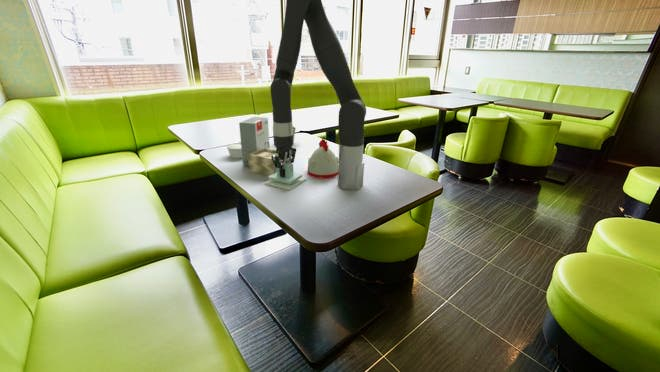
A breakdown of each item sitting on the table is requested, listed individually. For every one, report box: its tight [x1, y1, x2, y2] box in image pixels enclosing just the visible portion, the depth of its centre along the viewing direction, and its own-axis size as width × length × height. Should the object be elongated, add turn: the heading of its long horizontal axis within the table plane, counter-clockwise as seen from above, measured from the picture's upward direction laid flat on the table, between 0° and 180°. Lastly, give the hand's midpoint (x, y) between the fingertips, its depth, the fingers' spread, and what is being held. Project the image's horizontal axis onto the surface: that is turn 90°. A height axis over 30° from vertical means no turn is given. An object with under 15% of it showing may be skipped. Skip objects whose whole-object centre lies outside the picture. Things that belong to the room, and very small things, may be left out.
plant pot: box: [293, 126, 297, 141], centre depth 172 cm, size 9×9×9 cm
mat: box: [263, 177, 307, 191], centre depth 121 cm, size 12×12×1 cm
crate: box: [248, 148, 277, 177], centre depth 131 cm, size 13×11×8 cm
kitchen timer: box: [307, 138, 339, 180], centre depth 129 cm, size 14×14×15 cm
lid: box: [267, 163, 303, 184], centre depth 119 cm, size 11×9×6 cm
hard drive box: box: [238, 116, 271, 167], centre depth 140 cm, size 16×8×20 cm, turn 168°
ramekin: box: [227, 142, 242, 159], centre depth 150 cm, size 11×11×5 cm
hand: (285, 175), depth 120 cm, fingers closed on lid, 3 cm apart
